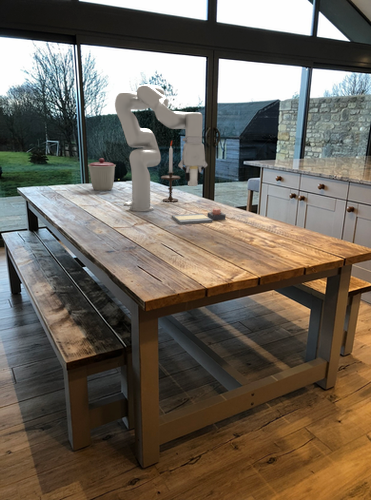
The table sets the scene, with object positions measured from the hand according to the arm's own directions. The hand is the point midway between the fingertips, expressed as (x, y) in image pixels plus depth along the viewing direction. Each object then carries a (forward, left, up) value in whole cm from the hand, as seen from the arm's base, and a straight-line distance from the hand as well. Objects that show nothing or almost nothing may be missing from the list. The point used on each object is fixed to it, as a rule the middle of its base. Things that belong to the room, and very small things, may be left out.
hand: (192, 180), depth 192 cm
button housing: (+13, 0, -19) cm, 23 cm away
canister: (-29, +98, -19) cm, 104 cm away
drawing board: (0, 0, -19) cm, 19 cm away
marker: (0, 0, -2) cm, 2 cm away
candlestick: (+4, +49, -19) cm, 52 cm away
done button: (+13, 0, -18) cm, 22 cm away
